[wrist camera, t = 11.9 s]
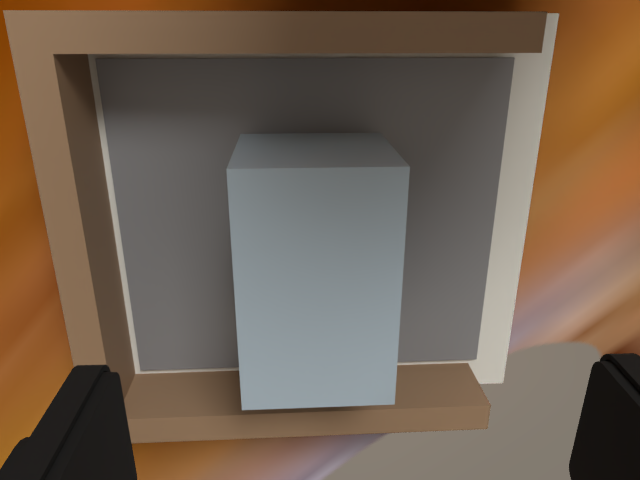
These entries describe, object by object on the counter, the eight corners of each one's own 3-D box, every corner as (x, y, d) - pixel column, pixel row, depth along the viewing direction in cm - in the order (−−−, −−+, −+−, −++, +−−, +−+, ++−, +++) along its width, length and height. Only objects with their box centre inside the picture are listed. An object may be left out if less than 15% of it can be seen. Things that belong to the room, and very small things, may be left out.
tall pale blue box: (242, 128, 20) (226, 169, 15) (376, 127, 20) (409, 166, 15) (252, 317, 23) (241, 410, 18) (368, 313, 23) (394, 404, 18)
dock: (76, 13, 21) (3, 10, 16) (524, 14, 22) (604, 11, 17) (129, 358, 27) (89, 445, 22) (481, 347, 28) (529, 427, 23)
